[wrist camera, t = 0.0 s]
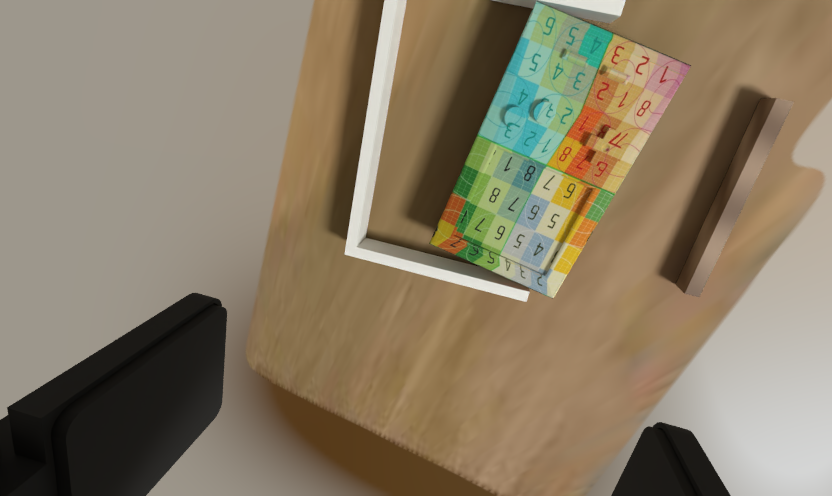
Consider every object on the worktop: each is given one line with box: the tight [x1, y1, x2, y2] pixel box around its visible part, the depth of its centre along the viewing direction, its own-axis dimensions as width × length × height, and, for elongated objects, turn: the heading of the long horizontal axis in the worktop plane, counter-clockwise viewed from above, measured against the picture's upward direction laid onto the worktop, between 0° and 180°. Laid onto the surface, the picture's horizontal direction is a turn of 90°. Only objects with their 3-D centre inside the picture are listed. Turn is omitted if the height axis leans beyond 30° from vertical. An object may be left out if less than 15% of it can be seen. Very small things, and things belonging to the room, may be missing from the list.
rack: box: [345, 0, 626, 302], centre depth 36 cm, size 24×17×3 cm
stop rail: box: [676, 98, 794, 297], centre depth 35 cm, size 16×1×2 cm, turn 169°
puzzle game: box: [429, 1, 691, 298], centre depth 35 cm, size 12×5×20 cm
